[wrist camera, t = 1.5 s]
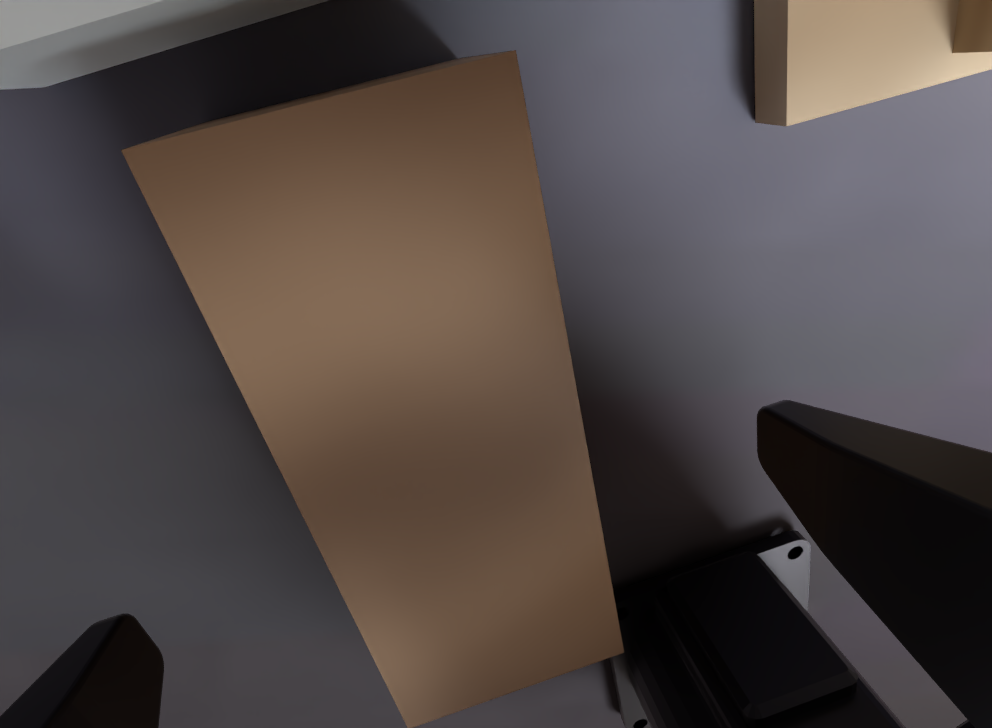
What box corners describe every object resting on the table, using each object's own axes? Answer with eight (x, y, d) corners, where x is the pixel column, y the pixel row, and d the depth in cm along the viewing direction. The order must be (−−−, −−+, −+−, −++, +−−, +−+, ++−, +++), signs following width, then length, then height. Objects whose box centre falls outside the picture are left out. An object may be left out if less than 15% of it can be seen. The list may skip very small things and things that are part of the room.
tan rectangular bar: (556, 509, 16) (624, 652, 12) (394, 562, 16) (408, 728, 12) (455, 59, 11) (515, 50, 7) (208, 121, 10) (120, 150, 6)
